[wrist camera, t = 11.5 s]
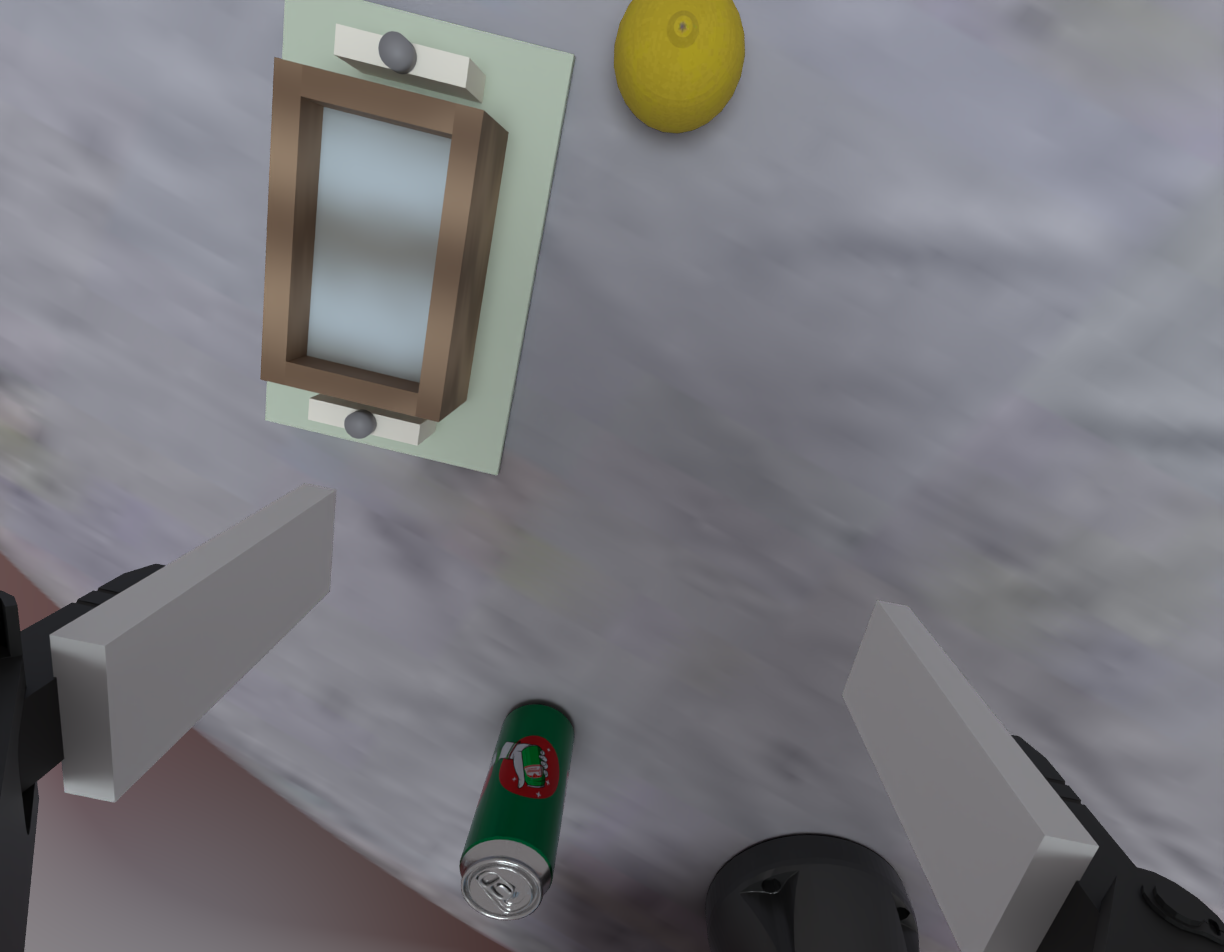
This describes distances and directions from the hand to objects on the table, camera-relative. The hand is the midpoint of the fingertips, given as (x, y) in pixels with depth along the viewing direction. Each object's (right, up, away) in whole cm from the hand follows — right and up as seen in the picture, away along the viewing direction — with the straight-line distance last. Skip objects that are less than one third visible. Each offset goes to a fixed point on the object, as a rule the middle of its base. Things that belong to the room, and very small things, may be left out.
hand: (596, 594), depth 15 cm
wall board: (-11, +15, +19) cm, 26 cm away
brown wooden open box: (-11, +15, +18) cm, 26 cm away
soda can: (-5, -15, +29) cm, 33 cm away
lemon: (+3, +22, +16) cm, 27 cm away
